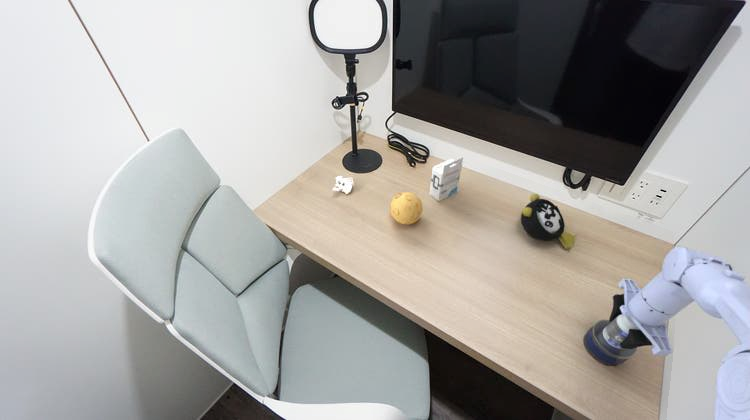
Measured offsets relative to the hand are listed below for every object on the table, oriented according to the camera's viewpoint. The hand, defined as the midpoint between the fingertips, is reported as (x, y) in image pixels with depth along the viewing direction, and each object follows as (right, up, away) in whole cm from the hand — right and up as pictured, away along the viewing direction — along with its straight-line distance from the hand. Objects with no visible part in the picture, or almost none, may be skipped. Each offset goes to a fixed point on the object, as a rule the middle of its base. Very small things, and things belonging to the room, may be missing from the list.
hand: (619, 333), depth 65 cm
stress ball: (-41, +22, +35) cm, 58 cm away
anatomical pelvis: (-62, +33, +46) cm, 84 cm away
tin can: (0, -5, +5) cm, 7 cm away
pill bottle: (0, -2, +1) cm, 2 cm away
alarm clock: (-1, +18, +29) cm, 34 cm away
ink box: (-27, +31, +43) cm, 60 cm away
